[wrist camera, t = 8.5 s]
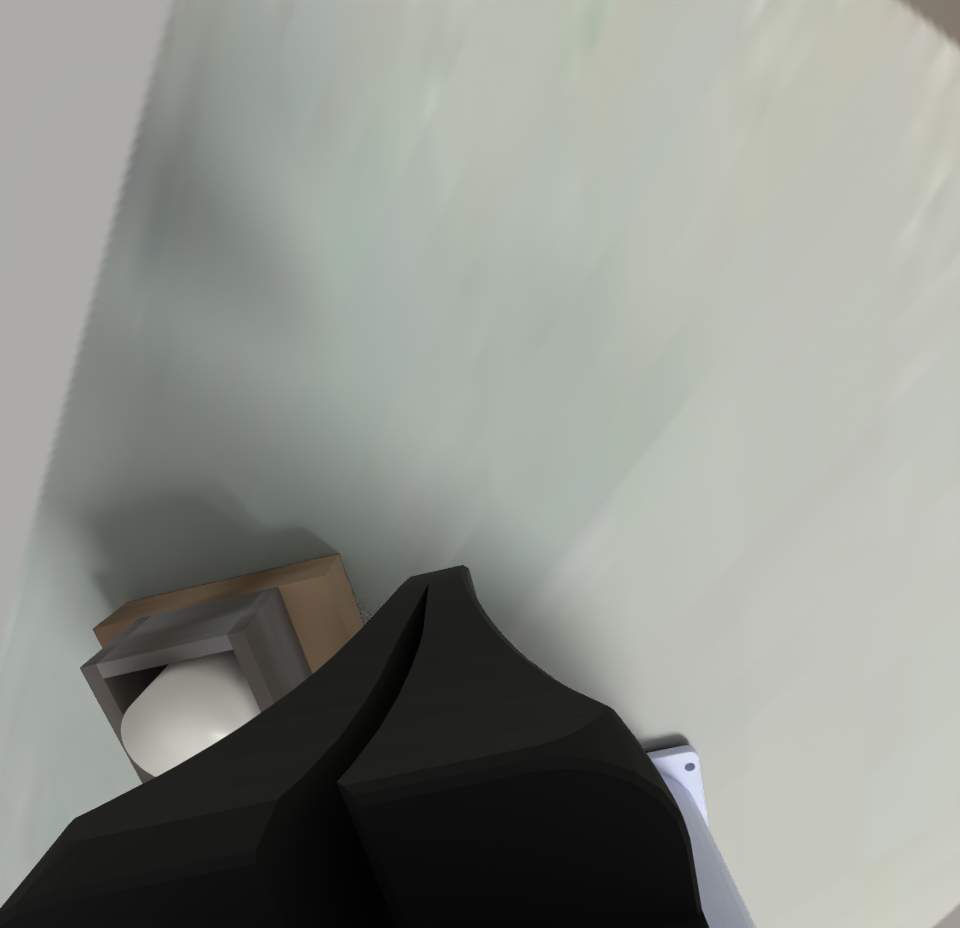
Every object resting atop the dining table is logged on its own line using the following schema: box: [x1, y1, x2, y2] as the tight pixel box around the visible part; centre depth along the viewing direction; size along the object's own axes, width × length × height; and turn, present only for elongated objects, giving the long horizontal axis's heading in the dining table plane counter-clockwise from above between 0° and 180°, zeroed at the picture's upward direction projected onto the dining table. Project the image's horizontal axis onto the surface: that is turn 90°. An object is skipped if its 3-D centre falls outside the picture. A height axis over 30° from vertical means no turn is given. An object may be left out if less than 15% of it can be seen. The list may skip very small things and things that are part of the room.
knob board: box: [80, 554, 364, 784], centre depth 21 cm, size 10×18×5 cm, turn 14°
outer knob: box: [121, 650, 261, 777], centre depth 18 cm, size 4×4×4 cm
